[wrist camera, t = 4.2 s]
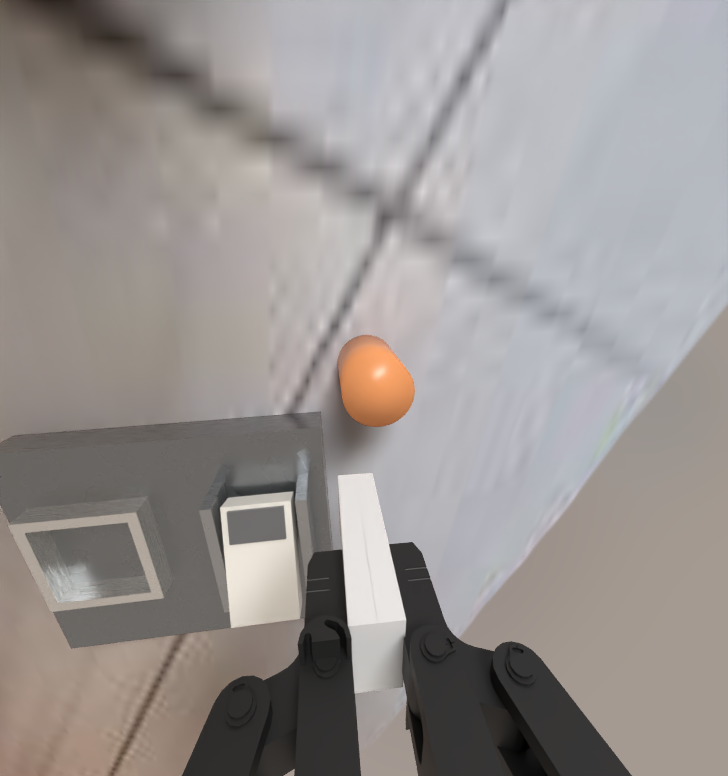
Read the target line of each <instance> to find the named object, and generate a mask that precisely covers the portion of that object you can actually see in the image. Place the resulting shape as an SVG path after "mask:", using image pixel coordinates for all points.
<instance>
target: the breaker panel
mask: <svg viewBox="0 0 728 776" xmlns="http://www.w3.org/2000/svg"><path fill="white" fill-rule="evenodd" d="M291 491H294V503H295V516H296V528H297V541H298V553H299V566H300V578H301V591H302V608H301V616H300V618H305V607H306V587H307V567H308V563H309V561H310V559H311V557H312V555H313V554H314V552H322V551H333V547H332V535H331V524H330V512H329V501H328V490H327V478H326V467H325V456H324V444H323V433H322V422H321V412H312V413H299V414H287V415H274V416H261V417H248V418H235V419H223V420H210V421H197V422H184V423H172V424H159V425H146V426H133V427H120V428H108V429H95V430H82V431H69V432H57V433H44V434H31V435H18V436H12V437H10V438H8V439H6V440H4V441H3V442H1V443H0V505H1V507H2V509H3V511H4V513H5V515H6V517H7V519H8V521H9V523H10V524H9V525H8V527H9V529H10V531H11V533H12V535H13V537H14V539H15V541H16V543H17V545H18V547H19V549H20V551H21V553H22V555H23V557H24V559H25V561H26V563H27V565H28V568H29V570H30V572H31V574H32V576H33V578H34V580H35V582H36V584H37V586H38V588H39V590H40V592H41V594H42V596H43V598H44V600H45V602H46V604H47V606H48V608H49V610H50V612H53V613H54V615H55V617H56V619H57V621H58V623H59V625H60V627H61V629H62V631H63V633H64V635H65V637H66V639H67V641H68V643H69V645H70V647H71V648H79V647H86V646H94V645H102V644H109V643H117V642H125V641H132V640H140V639H147V638H155V637H163V636H170V635H178V634H186V633H193V632H201V631H209V630H216V629H224V628H231V621H230V610H229V599H228V588H227V578H226V567H225V556H224V545H223V534H222V523H221V512H220V507H221V506H222V505H223V504H224V502H225V501H226V500H227V499H228V498H230V497H240V496H251V495H261V494H271V493H281V492H291Z"/></svg>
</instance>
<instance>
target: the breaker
mask: <svg viewBox="0 0 728 776" xmlns="http://www.w3.org/2000/svg"><path fill="white" fill-rule="evenodd" d="M220 512H221V523H222V534H223V545H224V556H225V567H226V578H227V588H228V599H229V610H230V621H231V628H235V627H242V626H250V625H258V624H265V623H273V622H280V621H288V620H296V619H300V616H301V608H302V591H301V578H300V566H299V553H298V541H297V528H296V516H295V503H294V491H291V492H281V493H271V494H261V495H251V496H240V497H230V498H228V499H227V500H226V501H225V502H224V504H223V505H222V506H221V507H220Z"/></svg>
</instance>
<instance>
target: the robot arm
mask: <svg viewBox="0 0 728 776" xmlns="http://www.w3.org/2000/svg"><path fill="white" fill-rule="evenodd" d="M338 493H339V518H340V537H341V550H333V551H322V552H314V554H313V555H312V557H311V559H310V561H309V563H308V567H307V587H306V607H305V627H304V629H303V630H302V632H301V633H300V637H299V641H298V650H299V655H298V656H297V658H296V659H295V661H294V662H293V663H292V664H291V665H290V666H289V667H288V668H286V669H285V670H283V671H281V672H280V673H278V674H276V675H274V676H272V677H270V678H268V679H266V680H264V681H263V680H262V679H260V678H258V677H255V676H242V677H240V678H238V679H236V680H234V681H232V682H231V683H230V684H229V685H228V686H227V687H225V688H224V689H223V690H222V691H221V693H220V695H219V696H218V698H217V699H216V701H215V703H214V705H213V707H212V709H211V712H210V714H209V716H208V718H207V721H206V723H205V725H204V727H203V730H202V732H201V734H200V736H199V739H198V741H197V743H196V745H195V748H194V750H193V752H192V754H191V757H190V759H189V761H188V764H187V766H186V768H185V770H184V773H183V775H182V776H283V775H285V774H287V773H288V772H290V771H291V770H293V769H295V775H294V776H361V771H360V758H359V744H358V731H357V717H356V704H355V693H362V692H369V691H377V690H384V689H392V688H399V687H403V679H404V684H405V690H406V695H407V706H406V730H408V729H410V732H411V737H412V743H413V748H414V754H415V760H416V765H417V771H418V776H632V775H631V774H630V773H629V772H628V770H627V769H626V768H625V767H624V765H623V764H622V762H621V761H620V760H619V759H618V757H617V756H616V755H615V754H614V752H613V751H612V750H611V748H610V747H609V746H608V744H607V743H606V742H605V741H604V739H603V738H602V737H601V735H600V734H599V733H598V732H597V731H596V729H595V728H594V727H593V725H592V724H591V723H590V721H589V720H588V719H587V717H586V716H585V715H584V714H583V712H582V711H581V710H580V709H579V707H578V706H577V705H576V703H575V702H574V701H573V700H572V698H571V697H570V696H569V694H568V693H567V692H566V691H565V689H564V688H563V687H562V685H561V684H560V683H559V682H558V680H557V679H556V678H555V677H554V675H553V674H552V673H551V671H550V670H549V669H548V667H547V666H546V665H545V664H544V662H543V661H542V660H541V659H540V658H539V657H538V656H537V655H536V654H535V653H534V652H533V651H532V650H531V649H529V648H528V647H526V646H524V645H523V644H520V643H516V642H505V643H502V644H500V645H499V646H498V647H497V648H496V649H495V651H490V650H486V649H482V648H477V647H473V646H471V645H468V644H465V643H464V642H462V641H461V640H459V639H458V638H457V637H456V636H454V635H453V634H452V632H451V631H450V630H449V628H448V627H447V625H446V622H445V620H444V617H443V614H442V611H441V608H440V605H439V603H438V600H437V597H436V594H435V591H434V588H433V585H432V582H431V580H430V576H429V573H428V570H427V568H426V564H425V561H424V558H423V555H422V553H421V551H420V550H419V549H418V548H417V547H416V546H415V545H414V543H413V542H409V543H399V544H389V543H388V539H387V534H386V530H385V526H384V521H383V517H382V513H381V508H380V504H379V500H378V495H377V491H376V487H375V482H374V478H373V474H372V473H365V474H351V475H338Z"/></svg>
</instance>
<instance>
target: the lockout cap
mask: <svg viewBox="0 0 728 776" xmlns="http://www.w3.org/2000/svg"><path fill="white" fill-rule="evenodd" d="M338 371H339V378H340V385H341V392H342V400H343V404H344V407H345V409H346V411H347V412H348V414H349V415H350V416H351V417H352V418H353V419H354V420H356V421H357V422H359V423H361V424H364V425H367V426H372V427H381V426H386V425H389V424H392V423H394V422H396V421H397V420H399V419H400V418H402V417H403V416H404V415H405V414H406V413H407V411H408V410H409V408H410V406H411V405H412V402H413V399H414V393H415V389H414V382H413V379H412V377H411V375H410V373H409V372H408V371H407V369H406V368H405V367H404V365H403V364H402V363H401V361H400V360H399V359H398V358H397V356H396V355H395V354H394V352H393V351H392V350H391V348H390V347H389V346H388V345H387V344H386V342H384V341H383V340H382V339H380V338H378V337H375V336H371V335H362V336H358V337H355V338H353V339H351V340H350V341H348V342H347V343H346V344H345V345H344V347H343V348H342V349H341V351H340V354H339V357H338Z"/></svg>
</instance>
